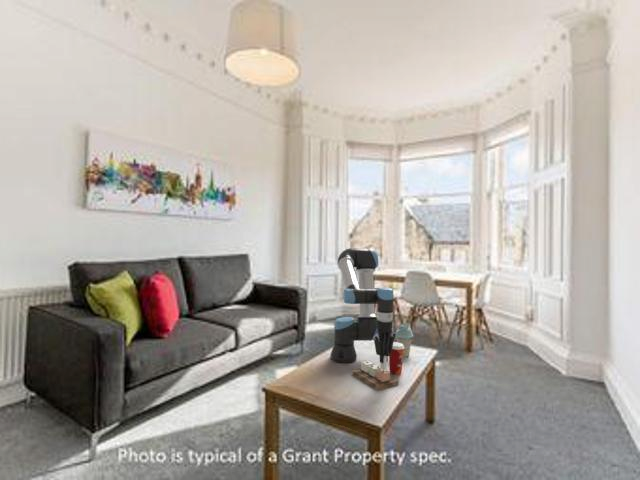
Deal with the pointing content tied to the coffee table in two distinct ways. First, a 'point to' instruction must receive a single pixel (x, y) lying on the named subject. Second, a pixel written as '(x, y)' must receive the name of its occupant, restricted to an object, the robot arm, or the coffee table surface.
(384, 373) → the tile three
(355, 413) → the coffee table surface
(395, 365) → the coffee cup
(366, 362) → the tile one
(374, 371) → the tile two
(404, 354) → the ice cream cone
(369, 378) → the tile board
